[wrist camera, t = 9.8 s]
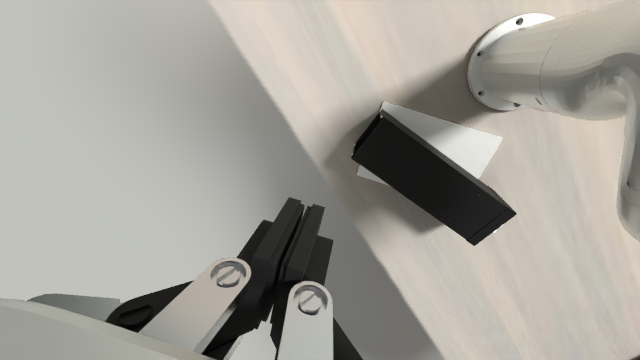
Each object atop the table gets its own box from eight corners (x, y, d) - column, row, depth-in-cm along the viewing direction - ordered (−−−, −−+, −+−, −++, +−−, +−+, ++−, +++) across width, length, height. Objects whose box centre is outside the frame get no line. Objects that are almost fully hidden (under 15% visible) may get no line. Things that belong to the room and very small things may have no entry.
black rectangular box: (381, 107, 42) (508, 201, 45) (353, 144, 46) (472, 229, 48) (383, 115, 35) (534, 226, 38) (349, 158, 39) (490, 257, 41)
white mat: (501, 137, 41) (503, 138, 41) (458, 207, 47) (459, 208, 47) (383, 101, 42) (383, 101, 42) (356, 173, 48) (356, 175, 48)
